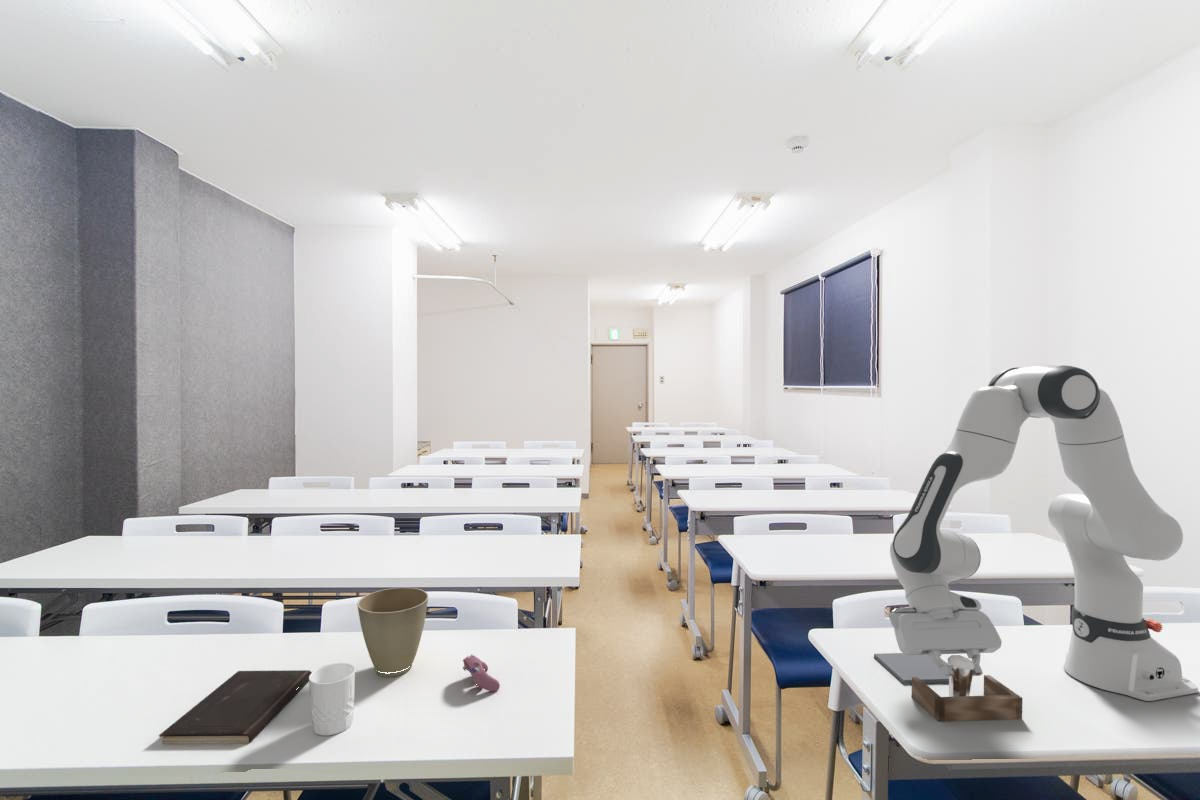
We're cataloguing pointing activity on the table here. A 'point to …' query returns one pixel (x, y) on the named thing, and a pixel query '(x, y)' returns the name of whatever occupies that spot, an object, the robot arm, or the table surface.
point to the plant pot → (393, 627)
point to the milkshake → (960, 675)
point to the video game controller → (480, 673)
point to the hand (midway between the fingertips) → (963, 675)
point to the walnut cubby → (970, 702)
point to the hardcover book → (238, 708)
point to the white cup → (332, 698)
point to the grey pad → (911, 667)
